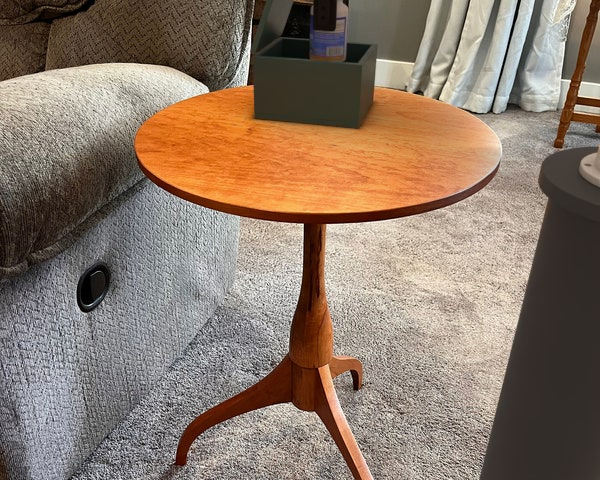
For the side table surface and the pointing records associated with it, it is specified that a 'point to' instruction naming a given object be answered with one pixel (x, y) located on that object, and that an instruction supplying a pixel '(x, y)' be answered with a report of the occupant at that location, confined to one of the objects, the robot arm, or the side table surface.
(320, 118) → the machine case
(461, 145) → the side table surface
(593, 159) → the robot arm
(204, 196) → the side table surface
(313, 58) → the pill bottle
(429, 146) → the side table surface
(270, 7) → the case lid
